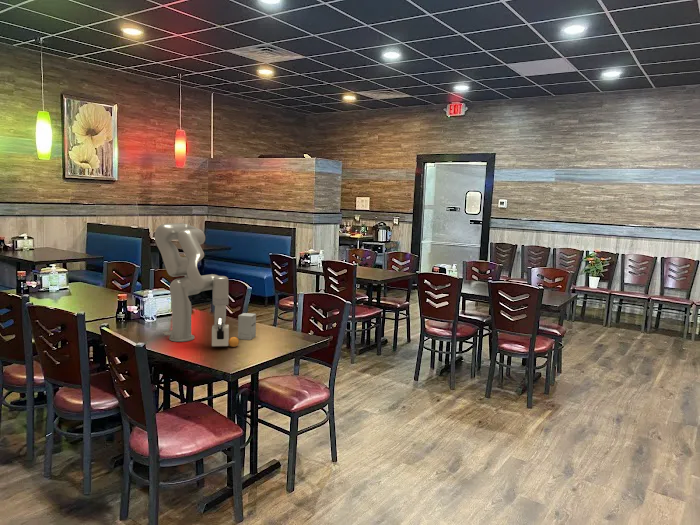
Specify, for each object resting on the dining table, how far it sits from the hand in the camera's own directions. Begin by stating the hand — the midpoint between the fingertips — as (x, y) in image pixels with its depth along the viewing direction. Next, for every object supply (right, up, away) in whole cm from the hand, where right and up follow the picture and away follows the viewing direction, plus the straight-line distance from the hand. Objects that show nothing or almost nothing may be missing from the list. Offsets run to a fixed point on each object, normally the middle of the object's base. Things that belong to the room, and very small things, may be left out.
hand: (220, 336), depth 268 cm
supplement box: (+9, -4, +20) cm, 22 cm away
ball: (+6, -3, +2) cm, 7 cm away
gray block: (0, -4, 0) cm, 4 cm away
